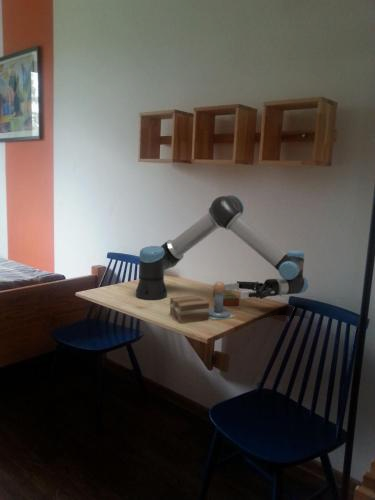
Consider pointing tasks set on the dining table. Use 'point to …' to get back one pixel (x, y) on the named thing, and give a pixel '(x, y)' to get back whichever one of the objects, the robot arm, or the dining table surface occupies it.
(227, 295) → the carton
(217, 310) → the arcade joystick
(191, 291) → the dining table surface
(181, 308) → the box
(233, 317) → the mat
